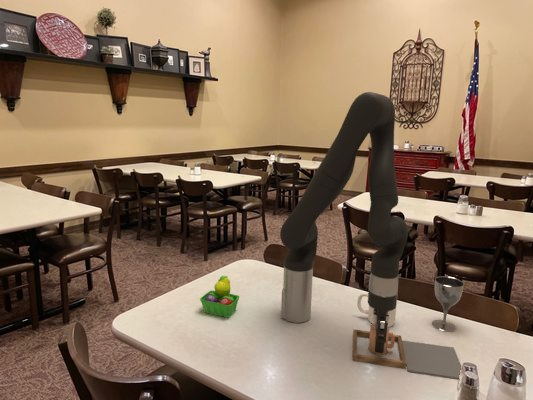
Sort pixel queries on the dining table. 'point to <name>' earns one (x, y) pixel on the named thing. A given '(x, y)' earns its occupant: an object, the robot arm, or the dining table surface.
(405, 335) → the dining table surface
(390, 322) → the cup
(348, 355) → the dining table surface
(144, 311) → the dining table surface
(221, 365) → the dining table surface
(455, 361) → the rubber mat
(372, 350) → the orange mug
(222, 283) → the fruit basket
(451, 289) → the wine glass
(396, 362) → the walnut frame
